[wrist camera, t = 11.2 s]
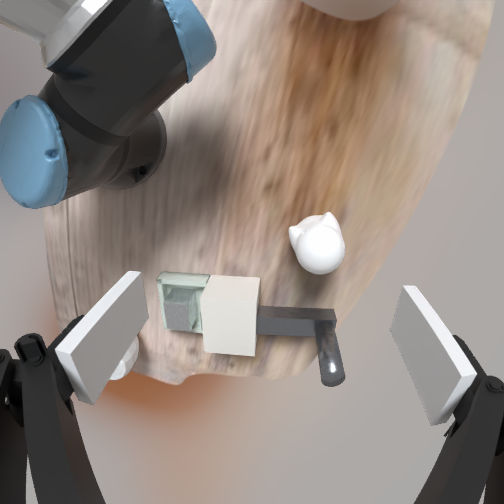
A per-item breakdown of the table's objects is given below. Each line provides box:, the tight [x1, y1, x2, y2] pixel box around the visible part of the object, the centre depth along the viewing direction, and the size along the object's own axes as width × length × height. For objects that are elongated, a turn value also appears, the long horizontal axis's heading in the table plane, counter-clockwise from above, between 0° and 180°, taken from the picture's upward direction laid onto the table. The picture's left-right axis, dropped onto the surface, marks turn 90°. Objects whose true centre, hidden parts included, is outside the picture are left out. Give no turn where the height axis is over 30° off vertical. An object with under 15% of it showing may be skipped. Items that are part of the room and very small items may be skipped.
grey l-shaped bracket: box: [200, 306, 345, 387], centre depth 40 cm, size 20×3×14 cm, turn 89°
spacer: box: [163, 288, 198, 331], centre depth 48 cm, size 5×5×4 cm
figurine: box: [289, 212, 345, 274], centre depth 39 cm, size 7×8×12 cm
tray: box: [157, 272, 210, 333], centre depth 49 cm, size 8×10×3 cm
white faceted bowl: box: [109, 336, 139, 380], centre depth 51 cm, size 12×12×10 cm
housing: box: [200, 275, 260, 356], centre depth 46 cm, size 8×10×8 cm
